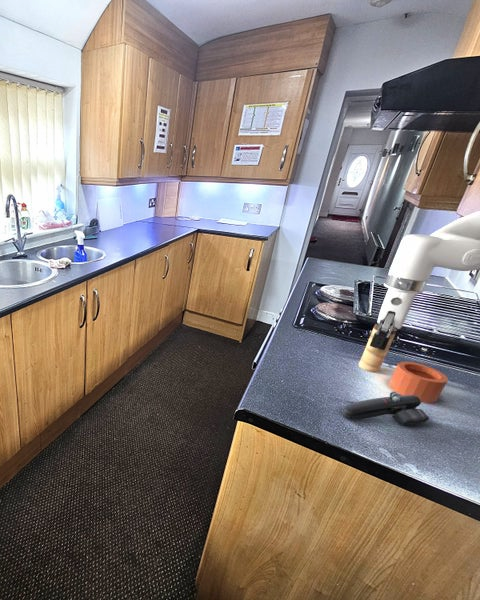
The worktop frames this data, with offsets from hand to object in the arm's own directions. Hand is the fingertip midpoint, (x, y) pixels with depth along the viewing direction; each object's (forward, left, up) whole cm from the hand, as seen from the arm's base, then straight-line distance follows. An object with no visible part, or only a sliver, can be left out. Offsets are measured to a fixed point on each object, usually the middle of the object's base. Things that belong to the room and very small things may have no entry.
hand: (378, 343), depth 91 cm
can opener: (+6, +23, -9) cm, 25 cm away
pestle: (0, 0, -9) cm, 9 cm away
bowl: (-6, +9, -9) cm, 14 cm away
